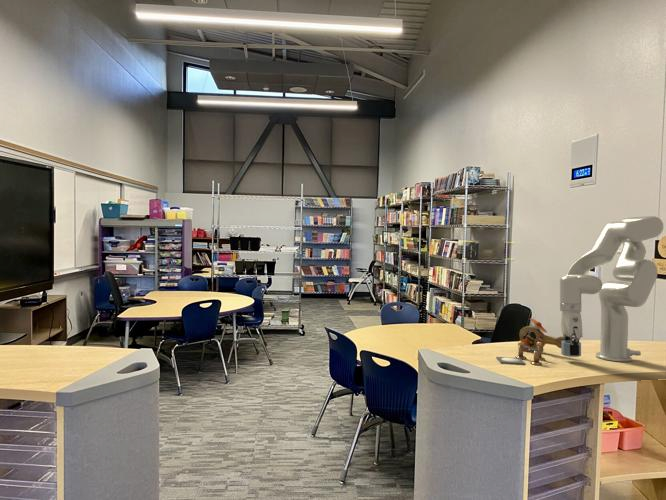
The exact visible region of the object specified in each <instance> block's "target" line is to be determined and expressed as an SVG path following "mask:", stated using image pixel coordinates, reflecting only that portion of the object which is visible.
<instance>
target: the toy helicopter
mask: <svg viewBox="0 0 666 500" xmlns="http://www.w3.org/2000/svg"><path fill="white" fill-rule="evenodd" d="M529 320H530V321H531V322H532V323H533V324H532V326H531V325H527V326H523V327H522V328H521V329H520V330H519V341H523V342H524V345H526V346H529V347H532V348H535V349H536V348H537V345H536V344H537V342H541V343H542V352H544V347H545V345H553V346H556V347H557V348H559V349H561V341H564V340H563V335H562V336H558V337H554V336H552V335H545V334H544V333H548V331H547V330H546V329H545V328H544V327H543V326H542V323H541V322H540V321H537V320H536V319H535V318H529ZM517 347H518V348H519V345H518V344H517ZM528 350H529V349H528V348H525V347H523V352H526V351H528Z"/></svg>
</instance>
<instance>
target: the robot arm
mask: <svg viewBox="0 0 666 500" xmlns="http://www.w3.org/2000/svg"><path fill="white" fill-rule="evenodd" d="M663 230H664V222H663V221H662V219H661V218H660V217H658V216H655V215H654V216H653V215H650V216H633V217H626V218H623V219H621V220H619V221H611V222H608V223H606V224H605V225H604V226H603V228H602V230H601V231H600V233H599V234H598V237H597V239H596V240H595V242H594V244H593V246H592V248H591V249H590V250H589V251H587V253H585V254H584V255H583V254H582V256H580V258H578V259H577V260H576V261H574V263H572V265H571V266H570V268H569V269H568V271H567V272H566V275H564V276H561V277H560V278H559V310H560V311H559V312H561V319H560V320H561V323H560V325H561V326H560V327H561V328H560V329H561V333H562V336H563V340H570V342H571V345H570V355H579V342H580V339H581V338H583V337H584V336H583V322H582V314H581V313H582V294H583V295H584V294H585V295H596V294H598V297H599V301H600V308H601V310H600V350H599V352H596V353H595V357H596V358H598V359H600V360H605V361H611V362H623V363H625V362H627V363H628V362H631V361H632V360H633V359H632V358H633V357H632V356H638V357H639V356H641V355H642V353H641V351H640V350H634V349H630V348H628V342H629V341H628V337H629V334H628V333H629V314H628V311H627V309H626V307H630V308H639V307H642V306H643V305H644V304H646V302H647V301H648V298H649V296H650V294H651V292H652V289H653V288H654V285H655V283H656V281H657V278H658V273H659V272H658V266H657V264H656V263H655V262H654V261H652V260H650V259H645V257H646V253H647V251H646V246H645V244H644V243H643V241H647V240H650V239H655V238H657V237H658V236H660V235H661V234H662V232H663ZM621 245H622V248H621V250H620V254H619V256H618V258H617V260H616V262H615V264H614V266H613V269H612V275H613V277H614V279H615V280H616V281H615V280H610V281H605V282H604V283H603V282H602V280H601V278H599V276H596V275H591V274H590V275H589V274H587V273H588V272H589V271H591V270H593V269H594V268H597V267H599V266H604V265H605V264H606V265H607V263H610V262H611V261H613V260H614V258H615V256H616V254H617V252H618V250H619V248H620V246H621Z"/></svg>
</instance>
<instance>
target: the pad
mask: <svg viewBox="0 0 666 500" xmlns="http://www.w3.org/2000/svg"><path fill="white" fill-rule="evenodd" d="M495 359H496V360H497V361H498V363H500V364H502V365H518V366H519V365H520V366H521V365H522V366H526V365H527V363H526V362H525V361H524V359H520V358H515V357H509V356H496V357H495Z"/></svg>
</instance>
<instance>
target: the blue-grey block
mask: <svg viewBox="0 0 666 500" xmlns="http://www.w3.org/2000/svg"><path fill="white" fill-rule="evenodd" d="M570 345H571V342H570V340H564V341H561V348H560V349H561V351H560V352H561V355H562V356H565V357H569V358H570V357H572V358H574V357H575V358H579V357H582V342H580V341H579V355H570Z"/></svg>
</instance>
